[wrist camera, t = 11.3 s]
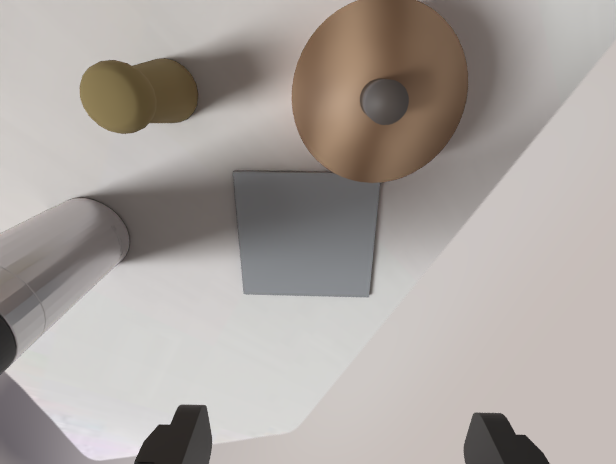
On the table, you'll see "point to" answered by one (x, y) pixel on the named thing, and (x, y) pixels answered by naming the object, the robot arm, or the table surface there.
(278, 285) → the mat
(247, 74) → the table surface
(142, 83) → the cork
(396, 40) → the lid
